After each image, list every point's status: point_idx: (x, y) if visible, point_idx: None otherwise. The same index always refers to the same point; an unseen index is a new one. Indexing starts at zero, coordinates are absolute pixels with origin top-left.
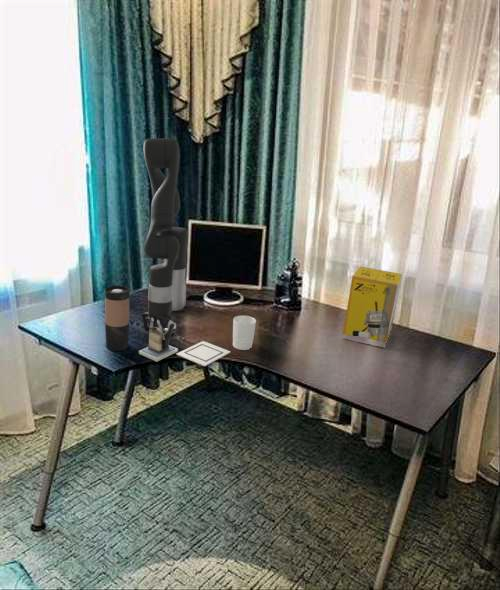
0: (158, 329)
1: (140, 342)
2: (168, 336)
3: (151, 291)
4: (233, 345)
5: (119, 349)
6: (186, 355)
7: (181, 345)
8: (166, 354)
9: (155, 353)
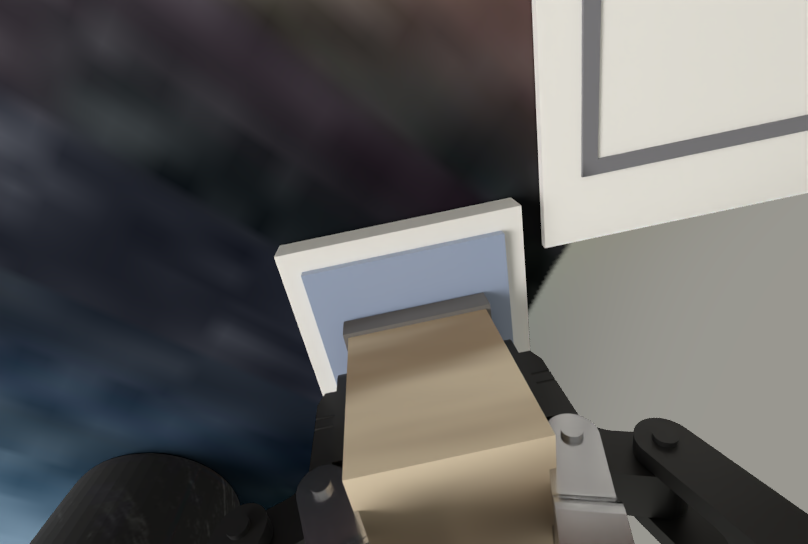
0: (377, 501)
1: (157, 364)
2: (687, 530)
3: None
4: None
5: None
6: (636, 191)
7: (420, 67)
8: (528, 345)
9: None
